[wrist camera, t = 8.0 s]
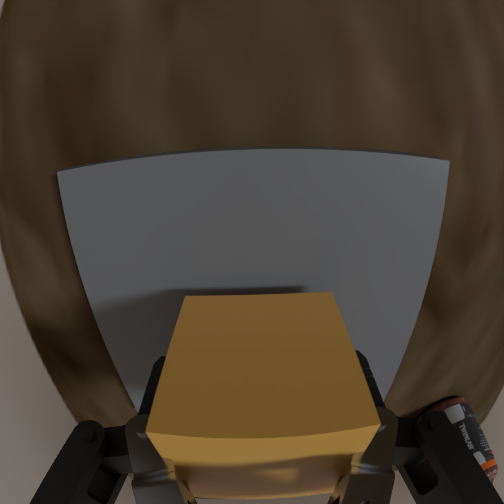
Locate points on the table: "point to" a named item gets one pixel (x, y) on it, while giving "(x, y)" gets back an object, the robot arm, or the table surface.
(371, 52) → the table surface
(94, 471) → the robot arm
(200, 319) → the mustard foam cube
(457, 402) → the supplement bottle
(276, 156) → the thin gray plate
